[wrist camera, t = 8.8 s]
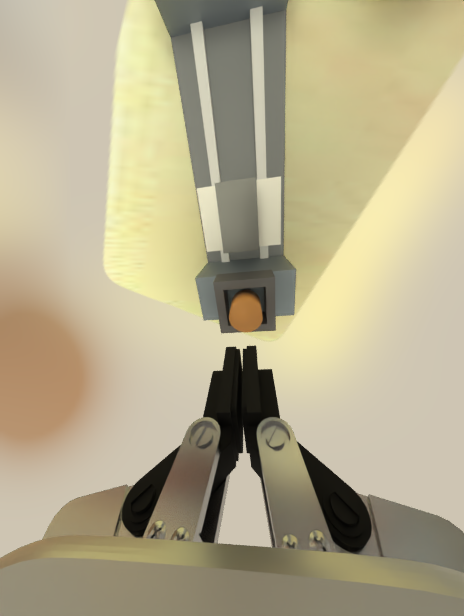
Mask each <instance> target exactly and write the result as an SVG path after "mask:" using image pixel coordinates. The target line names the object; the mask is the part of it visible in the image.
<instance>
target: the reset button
mask: <svg viewBox="0 0 464 616" xmlns="http://www.w3.org/2000/svg"><path fill="white" fill-rule="evenodd" d="M262 319H263V316H262V309H261V303H260V298H259V296H258V295H257V294H256V293H255V292H253V291H251V290H241V291H239V292H237V293H236V294H235V295H234V296H233V298H232V303H231V308H230V314H229V321H230V323H231V325H232V326H233V327H234V328H235V329H236V330H238V331H241V332H251V331H254V330H256V329H257V328H258V327H259V326H260V325H261V323H262Z"/></svg>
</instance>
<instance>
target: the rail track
mask: <svg viewBox="0 0 464 616" xmlns="http://www.w3.org/2000/svg"><path fill="white" fill-rule="evenodd" d="M155 2H156V4H157V7H158V9H159V11H160V13H161V16H162V18H163V20H164V23H165V25H166V27H167V30H168V32H169V34H170V37H171V41H172V47H173V53H174V59H175V65H176V71H177V78H178V84H179V90H180V96H181V102H182V108H183V114H184V120H185V126H186V132H187V138H188V144H189V150H190V156H191V162H192V168H193V174H194V180H195V186H196V192H197V188H203V187H210V186H215V183H219V182H226V181H232V180H239V179H246V178H253V177H256V180H259V179H266V178H273V177H280V176H281V244H280V245H270V246H260V247H259V250H253V251H243V252H233V253H223V250H221V251H211V252H207V249H206V253H207V259H208V263H207V264H206V266H205V267H204V268H203V269H202V271H201V272H200V273H199V274H198V275H197V277H196V278H195V279H196V284H197V289H198V294H199V299H200V304H201V309H202V314H203V319H204V320H218V319H219V322H220V328H221V333H234V332H241V331H238V330H236V329H235V328H234V327H233V326H232V325H231V323H230V321H229V314H230V308H231V303H232V298H233V296H234V295H235V294H236V293H237V292H239V291H241V290H251V291H253V292H255V293H256V294H257V295H258V296H259V298H260V303H261V309H262V316H263V319H262V323H261V325H260V326H259V327H258V328H257V329H256V330H254V331H251V332H255V331H274V330H276V321H275V316H285V315H294V306H295V282H296V269H295V268H294V267H293V265H292V264H291V263H290V262H289V261H288V260H287V259H286V258H285V256H284V255H283V250H284V160H285V70H286V8H287V3H288V0H155ZM197 198H198V194H197ZM198 204H199V200H198ZM199 210H200V206H199ZM200 216H201V212H200ZM201 223H202V218H201ZM202 229H203V225H202ZM203 235H204V231H203ZM204 241H205V237H204ZM205 247H206V243H205Z"/></svg>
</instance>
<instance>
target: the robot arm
mask: <svg viewBox="0 0 464 616" xmlns="http://www.w3.org/2000/svg"><path fill="white" fill-rule="evenodd" d="M243 427H244V435H245V441H246V450H247V453H250V459H251V467H252V468H253V469H254V471H255V472H256V473H257V474H258V476H259V477H260V480H261V485H262V492H263V497H264V503H265V509H266V515H267V521H268V527H269V533H270V539H271V545H272V548H271V547H258V546H244V545H231V544H218V537H219V532H220V526H221V521H222V515H223V510H224V504H225V499H226V493H227V488H228V482H229V474H230V473H231V471H232V470H233V469H234V468H235V467H236V461H238V455H239V453H243ZM0 616H464V533H463V532H462V531H461V530H460V529H459V528H458V527H456V526H455V525H454V524H452V523H451V522H450V521H448V520H445V519H444V518H442V517H439V516H437V515H434V514H430V513H427V512H424V511H421V510H418V509H414V508H411V507H408V506H405V505H401V504H398V503H395V502H392V501H389V500H385V499H382V498H379V497H376V496H373V495H368V497H367V496H364V495H361V494H358V493H356V492H355V491H354V490H353V489H352V488H351V487H350V486H348V485H347V484H346V483H344V481H343V480H341V479H340V478H339V477H338V476H337V475H336V474H334V473H333V472H332V471H331V470H330V469H329V468H327V467H326V466H325V465H324V464H323V463H322V462H320V461H319V460H318V459H317V458H316V457H315V456H313V455H312V454H311V453H310V452H309V451H308V450H307V449H305V448H304V447H303V446H302V445H301V444H300V443H298V442H297V441H296V438H295V436H294V433H293V431H292V429H291V427H290V426H289V425H288V423H287V422H285V421H284V420H282V419H280V415H279V409H278V403H277V397H276V391H275V385H274V379H273V373H272V369H264V370H258V365H257V351H256V346H247V349H243V371H242V364H241V355H240V349H236V347H226V352H225V359H224V365H223V371H213V374H212V378H211V383H210V387H209V392H208V397H207V402H206V406H205V411H204V415H203V418H201V419H198V420H196V421H195V422H193V423H192V424H191V426H190V427H189V428H188V430H187V432H186V434H185V437H184V439H183V442H182V444H181V445H180V446H179V447H178V448H176V449H175V450H174V451H173V452H172V453H170V454H169V455H168V456H167V457H166V458H165V459H163V460H162V461H161V462H160V463H159V464H158V465H156V466H155V467H154V468H153V469H152V470H150V471H149V472H148V473H147V474H146V475H145V476H143V477H142V478H141V479H140V480H139V481H138V482H137V483H136V484H135V485H133V486H129V487H128V485H123V486H119V487H116V488H112V489H109V490H104V491H101V492H97V493H93V494H89V495H86V496H82V497H79V498H76V499H74V500H72V501H70V502H69V503H67V504H66V505H65V506H64V507H62V508H61V510H60V511H59V512H58V513H57V514H56V515H55V516H54V518H53V520H52V522H51V523H50V525H49V526H48V528H47V531H46V533H45V535H44V537H43V539H42V540H39V541H36V542H33V543H30V544H28V545H25V546H23V547H20V548H18V549H16V550H14V551H12V552H10V553H8V554H7V555H5V556H3V557H1V558H0Z"/></svg>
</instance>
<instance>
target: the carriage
mask: <svg viewBox="0 0 464 616" xmlns="http://www.w3.org/2000/svg"><path fill="white" fill-rule="evenodd" d="M197 194H198V200H199V206H200V212H201V218H202V225H203V231H204V237H205V243H206V249H207V252H211V251H221V250H223V253H233V252H243V251H253V250H259V247H260V246H270V245H280V244H281V176H280V177H273V178H266V179H259V180H256V177H253V178H246V179H239V180H232V181H226V182H219V183H215V186H210V187H203V188H197Z"/></svg>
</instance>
